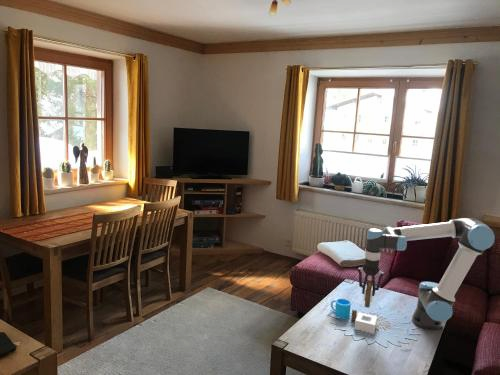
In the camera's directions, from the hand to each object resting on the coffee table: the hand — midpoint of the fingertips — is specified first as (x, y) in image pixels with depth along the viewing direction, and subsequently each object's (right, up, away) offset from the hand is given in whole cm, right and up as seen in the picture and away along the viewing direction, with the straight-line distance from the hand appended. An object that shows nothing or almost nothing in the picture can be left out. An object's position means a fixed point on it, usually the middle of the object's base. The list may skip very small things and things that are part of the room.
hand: (367, 300), depth 212 cm
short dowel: (-5, -14, +9) cm, 17 cm away
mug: (-11, -13, +16) cm, 23 cm away
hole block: (0, -15, +3) cm, 15 cm away
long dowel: (0, -3, +1) cm, 4 cm away
